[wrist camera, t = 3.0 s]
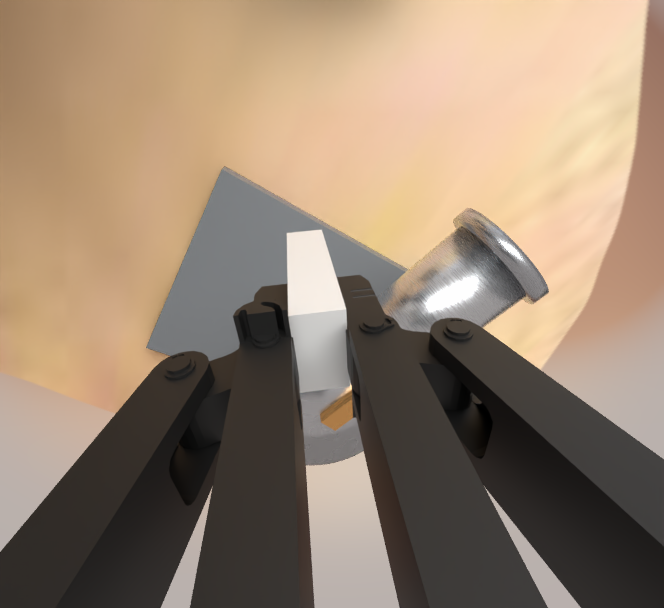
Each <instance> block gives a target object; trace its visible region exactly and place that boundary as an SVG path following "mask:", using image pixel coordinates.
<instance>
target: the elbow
mask: <svg viewBox="0 0 664 608" xmlns="http://www.w3.org/2000/svg"><path fill="white" fill-rule="evenodd" d="M453 223H454V225H455V228H456V230H455V231H454V232H453V233H451V234H450V235H449V236H448V237H447V238H445V239H444V240H443V241H442V242H441V243H440V244H438V245H437V246H436V247H435V248H434V249H432V250H431V251H430V252H429V253H428V254H427V255H425V256H424V257H423V258H422V259H421V260H419V261H418V262H417V263H416V264H415V265H414V266H412V267H411V268H410V269H409V270H408V271H407V272H405V273H404V274H403V275H402V276H401V277H399V278H398V279H397V280H396V281H395V282H394V283H392V284H391V285H390V286H389V287H388V288H386V289H385V290H384V291H383V292H382V293H381V294H379V295H378V296H377V299H378V301H379V303H380V305H381V307H382V309H383V311H384V313H385V314H386V315H388V316H390V317H392V318H394V319H395V320H396V321H397V322H398V324H399V326H400V328H402V329H405V330H409V331H417V332H429V333H430V328H431V326H432V325H433V323H434V322H436V321H438V320H440V319H445V318H461V319H464V320H468V321H471V322H473V323H475V324H477V325H479V326H480V327H481V328H483V327H485V326H486V325H487V324H489V323H490V322H491V321H493V320H494V319H496V318H497V317H498V316H500V315H501V314H502V313H504V312H505V311H507V310H508V309H509V308H511V307H512V306H513V305H515V304H516V303H518V302H519V301H520V300H524V301H525V302H527V303H529V304H534V303H535V302H537V301H538V300H539V299H541V298H542V297H544V296H545V295H546V294H548V292H549V291H548V287H547V284H546V282H545V280H544V279H543V277H542V275H541V274H540V272H539V271H538V269H537V268H536V267H535V265H534V264H533V263H532V262H531V260H530V259H529V258H528V257H527V256H526V255H525V253H524V252H523V251H522V250H521V249H520V248H519V247H518V246H517V245H516V244H515V243H514V242H513V241H512V240H511V238H509V237H508V236H507V235H506V234H505V233H504V232H503V231H502V230H501V229H500V228H499V227H498V226H496V225H495V224H494V223H493V222H492V221H490V220H489V219H488V218H486V217H485V216H484V215H482V214H481V213H479V212H477V211H475V210H473V209H471V208H467V209H465V210H464V211H463V212H462V213H460V214H459V215H458V216H457V217H456V218H455V219H454V220H453ZM349 380H350V377H349ZM300 398H301V404H302V416H303V432H304V448H305V464H306V465H323V464H330V463H334V462H338V461H341V460H345V459H348V458H350V457H353V456H355V455H356V454H359V453H360V452H362V451H364V449H363V445H362V441H361V436H360V432H359V427H358V423H357V419H356V418H353V408H352V386H351V382H350V386H347V387H340V388H332V389H325V390H318V391H310V392H303V393H300Z"/></svg>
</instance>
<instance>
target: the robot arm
mask: <svg viewBox="0 0 664 608" xmlns="http://www.w3.org/2000/svg"><path fill="white" fill-rule="evenodd" d="M287 279H288V284H280V285H271V286H262V287H261V288H260V289H259V290H258V291H257V292H256V293H255V296H254V301H253V302H250V303H247V304H245V305H243V306H241V307H240V308H239V309H237V310H236V312H235V313H234V315H233V319H234V323H235V327H236V330H237V334H238V338H239V342H240V344H239V349H238V350H236V351H234V352H232V353H231V354H228V355H226V356H223V357H220V358H217V359H214V360H212V361H209V360H208V356H206V355H205V354H203V353H202V352H197V351H187V352H181V353H178V354H175V355H172V356H170V357H168V358H166V359H165V360H163V361H161V362H160V363H159V364H158V365H157V366H156V367H155V368H154V369H153V370H152V371H151V372H150V374H149V375H148V376H147V377H146V378H145V380H144V381H143V382H142V383H141V384H140V386H139V387H138V388H137V389H136V390H135V392H134V393H133V394H132V395H131V396H130V398H129V399H128V400H127V401H126V402H125V404H124V405H123V406H122V407H121V408H120V410H119V411H118V412H117V413H116V414H115V416H114V417H113V418H112V419H111V420H110V422H109V423H108V424H107V425H106V426H105V428H104V429H103V430H102V431H101V432H100V433H99V435H98V436H97V437H96V438H95V439H94V441H93V442H92V443H91V444H90V445H89V447H88V448H87V449H86V450H85V451H84V453H83V454H82V455H81V456H80V457H79V459H78V460H77V461H76V462H75V463H74V465H73V466H72V467H71V468H70V469H69V471H68V472H67V473H66V474H65V475H64V477H63V478H62V479H61V480H60V481H59V483H58V484H57V485H56V486H55V487H54V489H53V490H52V491H51V492H50V493H49V495H48V496H47V497H46V498H45V499H44V501H43V502H42V503H41V504H40V505H39V506H38V508H37V509H36V510H35V511H34V513H33V514H32V515H31V516H30V517H29V519H28V520H27V521H26V522H25V523H24V524H23V526H22V527H21V528H20V529H19V530H18V532H17V533H16V534H15V535H14V536H13V538H12V539H11V540H10V541H9V543H8V544H7V545H6V546H5V547H4V548H3V549H2V551H1V552H0V608H161V605H162V603H163V601H164V598H165V596H166V594H167V591H168V589H169V586H170V584H171V582H172V580H173V577H174V575H175V573H176V570H177V568H178V566H179V563H180V561H181V559H182V556H183V554H184V552H185V549H186V547H187V545H188V542H189V540H190V538H191V535H192V533H193V531H194V528H195V526H196V523H197V521H198V519H199V516H200V514H201V512H202V509H203V507H204V505H205V502H206V500H207V498H208V495H209V493H210V491H211V488H212V486H213V488H212V493H211V499H210V504H209V509H208V515H207V520H206V525H205V531H204V536H203V541H202V547H201V552H200V557H199V562H198V568H197V573H196V579H195V584H194V589H193V594H192V600H191V605H190V608H314V593H313V578H312V562H311V546H310V531H309V530H310V529H309V513H308V497H307V482H306V464H305V448H304V432H303V416H302V404H301V398H300V393H303V392H310V391H318V390H325V389H332V388H340V387H347V386H350V382H351V386H352V408H353V418H356V419H357V423H358V427H359V432H360V436H361V441H362V445H363V449H364V454H365V458H366V462H367V467H368V471H369V475H370V479H371V484H372V488H373V493H374V497H375V502H376V506H377V510H378V515H379V519H380V523H381V528H382V532H383V537H384V541H385V545H386V550H387V554H388V558H389V563H390V567H391V572H392V576H393V580H394V585H395V589H396V593H397V598H398V602H399V607H400V608H548V607H547V605H546V603H545V602H544V600H543V598H542V596H541V594H540V592H539V590H538V588H537V586H536V584H535V582H534V581H533V579H532V577H531V575H530V573H529V571H528V569H527V567H526V565H525V563H524V562H523V560H522V558H521V556H520V554H519V552H518V550H517V548H516V546H515V545H514V543H513V541H512V539H511V537H510V535H509V533H508V531H507V529H506V527H505V526H504V524H503V522H502V520H501V518H500V516H499V514H498V512H497V510H496V508H495V506H494V505H493V503H492V501H491V499H490V497H489V496H488V493H487V491H486V489H487V490H488V491H489V493H490V494H491V495H492V496H493V498H494V499H495V500H496V501H497V503H498V504H499V505H500V506H501V507H502V509H503V510H504V511H505V513H506V514H507V515H508V516H509V517H510V519H511V520H512V521H513V523H514V524H515V525H516V526H517V528H518V529H519V530H520V532H521V533H522V534H523V535H524V537H525V538H526V539H527V540H528V542H529V543H530V544H531V545H532V547H533V548H534V549H535V550H536V551H537V553H538V554H539V555H540V557H541V558H542V559H543V560H544V561H545V563H546V564H547V565H548V567H549V568H550V569H551V570H552V572H553V573H554V574H555V575H556V577H557V578H558V579H559V580H560V582H561V583H562V584H563V585H564V587H565V588H566V589H567V590H568V592H569V593H570V594H571V595H572V597H573V598H574V599H575V600H576V602H577V603H578V604H579V605H580V607H581V608H664V459H662V458H661V457H660V456H658V455H657V454H656V453H654V452H653V451H651V450H650V449H649V448H647V447H646V446H644V445H643V444H642V443H640V442H639V441H637V440H636V439H635V438H633V437H632V436H631V435H629V434H628V433H627V432H625V431H624V430H622V429H621V428H620V427H618V426H617V425H615V424H614V423H613V422H611V421H610V420H608V419H607V418H606V417H604V416H603V415H602V414H600V413H599V412H598V411H596V410H595V409H593V408H592V407H590V406H589V405H588V404H586V403H585V402H584V401H582V400H581V399H580V398H578V397H577V396H575V395H574V394H573V393H571V392H570V391H568V390H567V389H566V388H564V387H563V386H562V385H560V384H559V383H557V382H556V381H554V380H553V379H552V378H550V377H549V376H547V375H546V374H545V373H544V372H542V371H541V370H539V369H538V368H537V367H535V366H534V365H533V364H531V363H530V362H528V361H527V360H526V359H524V358H523V357H522V356H520V355H519V354H517V353H516V352H515V351H513V350H512V349H510V348H509V347H508V346H506V345H505V344H504V343H502V342H501V341H499V340H498V339H497V338H495V337H494V336H493V335H491V334H490V333H488V332H487V331H486V330H484V329H483V328H481V327H480V326H479V325H477V324H475V323H473V322H471V321H468V320H464V319H461V318H445V319H440V320H438V321H436V322H434V323H433V325H432V326H431V328H430V333H429V332H417V331H409V330H405V329H402V328H400V326H399V324H398V322H397V321H396V320H395V319H394V318H392V317H390V316H388V315H386V314H385V313H384V311H383V309H382V307H381V305H380V303H379V301H378V299H377V297H376V295H375V293H374V291H373V289H372V287H371V284H370V282H369V280H367V279H366V278H364V277H363V276H361V275H353V276H343V277H336V274H335V271H334V268H333V264H332V261H331V258H330V255H329V251H328V248H327V245H326V242H325V238H324V235H323V232H322V230H312V231H302V232H292V233H287ZM349 377H350V380H349ZM484 486H485V487H484ZM485 488H486V489H485Z"/></svg>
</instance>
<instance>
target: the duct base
mask: <svg viewBox="0 0 664 608" xmlns="http://www.w3.org/2000/svg"><path fill="white" fill-rule="evenodd" d="M312 230H322V232H323V235H324V238H325V242H326V245H327V248H328V251H329V255H330V258H331V261H332V264H333V268H334V271H335V274H336V277H343V276H353V275H361V276H363V277H364V278H366V279H367V280H369V282H370V284H371V287H372V289H373V291H374V293H375V295H376V297H377V296H378V295H379V294H381V293H382V292H383V291H384V290H385V289H386V288H388V287H389V286H390V285H391V284H392V283H394V282H395V281H396V280H397V279H398V278H399V277H401V276H402V275H403V274H404V273H405V272H407V271H408V269H406V268H404V267H402V266H401V265H399V264H397V263H395V262H394V261H392V260H390V259H388V258H386V257H385V256H383V255H381V254H379V253H378V252H376V251H374V250H372V249H370V248H369V247H367V246H365V245H363V244H362V243H360V242H358V241H356V240H355V239H353V238H351V237H349V236H347V235H346V234H344V233H342V232H340V231H339V230H337V229H335V228H333V227H331V226H330V225H328V224H326V223H324V222H323V221H321V220H319V219H317V218H316V217H314V216H312V215H310V214H308V213H307V212H305V211H303V210H301V209H300V208H298V207H296V206H294V205H292V204H291V203H289V202H287V201H285V200H284V199H282V198H280V197H278V196H277V195H275V194H273V193H271V192H269V191H268V190H266V189H264V188H262V187H261V186H259V185H257V184H255V183H253V182H252V181H250V180H248V179H246V178H245V177H243V176H241V175H239V174H238V173H236V172H234V171H232V170H230V169H229V168H227V167H225V166H224V168H223V169H222V170H221V173H220V175H219V177H218V180H217V182H216V184H215V187H214V189H213V191H212V194H211V196H210V198H209V201H208V203H207V206H206V208H205V210H204V213H203V215H202V217H201V220H200V222H199V224H198V227H197V229H196V231H195V234H194V236H193V239H192V241H191V243H190V246H189V248H188V250H187V253H186V255H185V257H184V260H183V262H182V264H181V267H180V269H179V272H178V274H177V276H176V279H175V281H174V283H173V286H172V288H171V290H170V293H169V295H168V297H167V300H166V302H165V305H164V307H163V309H162V312H161V314H160V316H159V319H158V321H157V323H156V326H155V328H154V330H153V333H152V335H151V338H150V340H149V342H148V345H147V347H146V348H148V349H151V350H154V351H157V352H160V353H164V354H167V355H170V356H172V355H175V354H178V353H181V352H187V351H197V352H202V353H203V354H205V355H206V356H208V360H209V361H212V360H214V359H217V358H220V357H223V356H226V355H228V354H231V353H232V352H234V351H236V350H238V349H239V344H240V342H239V338H238V334H237V330H236V327H235V323H234V319H233V315H234V313H235V312H236V310H237V309H239V308H240V307H241V306H243V305H245V304H247V303H250V302H253V301H254V296H255V293H256V292H257V291H258V290H259V289H260V288H261V287H262V286H271V285H280V284H288V279H287V233H292V232H302V231H312Z"/></svg>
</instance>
